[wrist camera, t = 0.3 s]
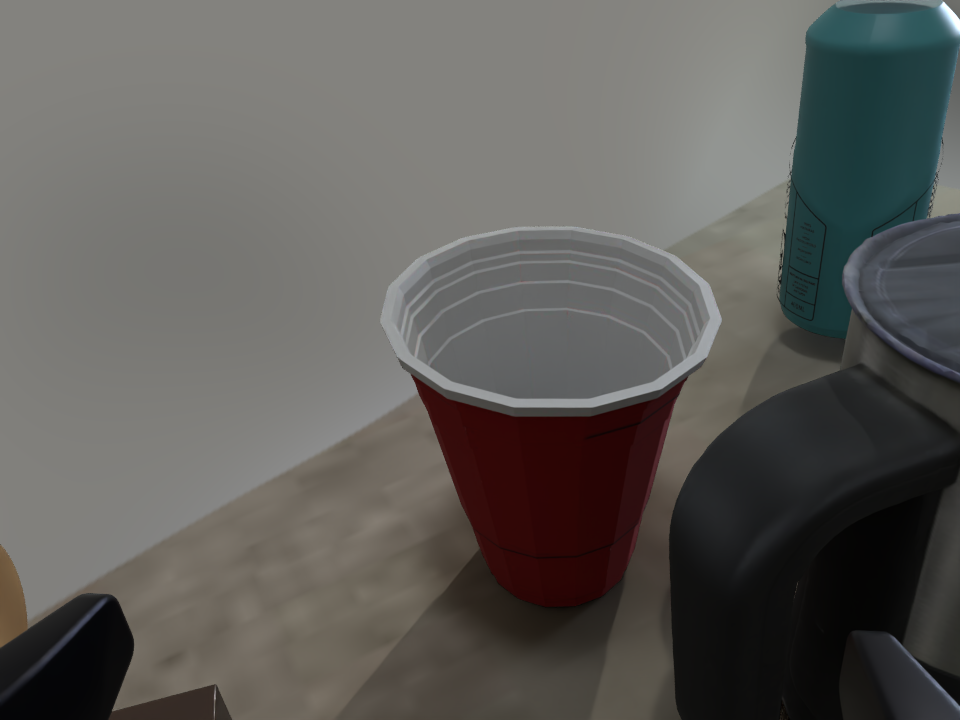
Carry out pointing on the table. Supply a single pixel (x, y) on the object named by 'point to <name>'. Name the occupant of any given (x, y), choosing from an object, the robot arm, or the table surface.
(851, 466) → the milk frother
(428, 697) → the table surface
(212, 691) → the slotted brown holder
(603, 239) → the plastic cup
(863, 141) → the beverage bottle
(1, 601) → the tan round-headed peg
